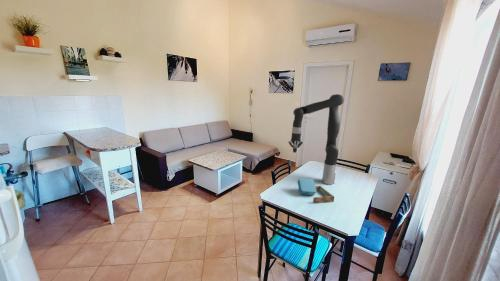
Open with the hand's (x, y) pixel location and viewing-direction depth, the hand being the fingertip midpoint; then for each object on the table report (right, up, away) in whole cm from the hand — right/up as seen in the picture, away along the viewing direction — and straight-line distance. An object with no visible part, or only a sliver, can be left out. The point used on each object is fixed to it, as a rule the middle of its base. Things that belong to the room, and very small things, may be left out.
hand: (294, 152), depth 171 cm
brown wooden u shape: (+13, -32, -19) cm, 40 cm away
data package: (+6, -30, -20) cm, 36 cm away
